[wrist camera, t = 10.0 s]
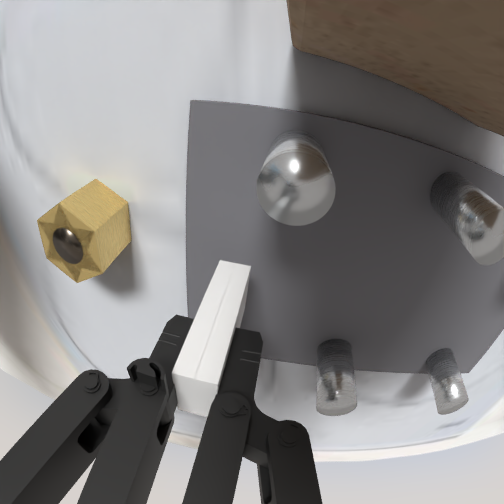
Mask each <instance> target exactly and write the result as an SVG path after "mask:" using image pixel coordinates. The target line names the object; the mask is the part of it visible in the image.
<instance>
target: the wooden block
mask: <svg viewBox="0 0 504 504" xmlns="http://www.w3.org/2000/svg"><path fill="white" fill-rule="evenodd" d="M287 7H288V15H289V23H290V31H291V39H292V44H293V46H294V47H295V48H297V49H298V50H300V51H302V52H306V53H310V54H314V55H317V56H321V57H325V58H328V59H331V60H335V61H338V62H341V63H344V64H347V65H350V66H353V67H356V68H359V69H361V70H364V71H367V72H370V73H372V74H375V75H377V76H380V77H383V78H385V79H387V80H390V81H392V82H395V83H397V84H399V85H401V86H404V87H406V88H408V89H410V90H412V91H415V92H417V93H419V94H421V95H423V96H425V97H427V98H429V99H431V100H433V101H435V102H437V103H439V104H441V105H442V106H444V107H446V108H448V109H450V110H451V111H453V112H455V113H457V114H458V115H460V116H462V117H464V118H465V119H467V120H469V121H470V122H472V123H473V124H475V125H477V126H479V127H482V128H484V129H487V130H490V131H492V132H495V133H497V134H500V135H502V136H504V0H287Z"/></svg>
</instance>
